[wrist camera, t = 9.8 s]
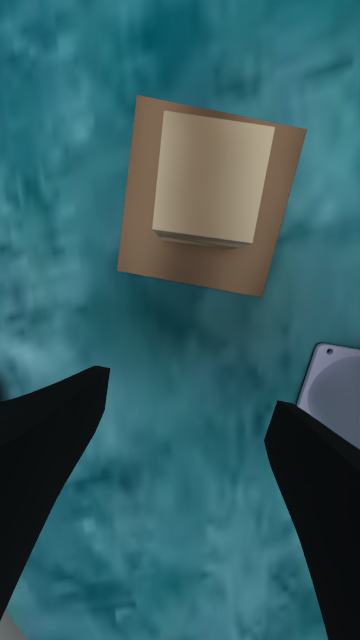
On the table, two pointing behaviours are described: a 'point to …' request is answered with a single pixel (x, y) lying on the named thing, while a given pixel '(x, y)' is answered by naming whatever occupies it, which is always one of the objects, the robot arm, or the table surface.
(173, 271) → the walnut block
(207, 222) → the maple block
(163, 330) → the table surface
